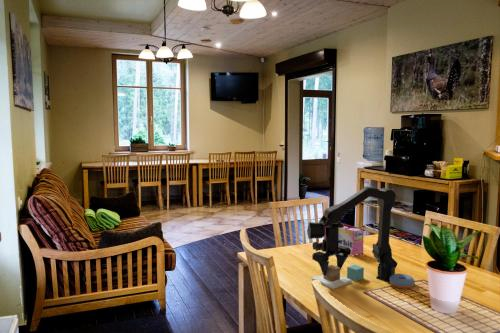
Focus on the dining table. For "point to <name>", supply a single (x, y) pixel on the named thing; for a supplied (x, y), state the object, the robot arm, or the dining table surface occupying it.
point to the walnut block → (332, 273)
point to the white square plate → (335, 283)
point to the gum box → (351, 238)
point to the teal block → (355, 272)
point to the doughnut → (402, 281)
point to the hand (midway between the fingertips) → (331, 273)
